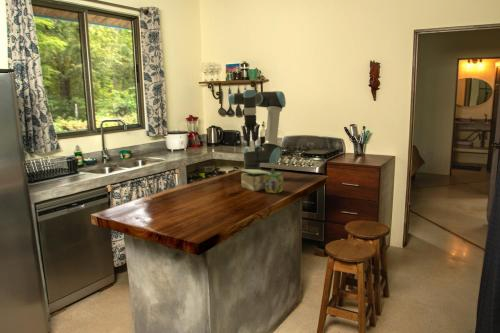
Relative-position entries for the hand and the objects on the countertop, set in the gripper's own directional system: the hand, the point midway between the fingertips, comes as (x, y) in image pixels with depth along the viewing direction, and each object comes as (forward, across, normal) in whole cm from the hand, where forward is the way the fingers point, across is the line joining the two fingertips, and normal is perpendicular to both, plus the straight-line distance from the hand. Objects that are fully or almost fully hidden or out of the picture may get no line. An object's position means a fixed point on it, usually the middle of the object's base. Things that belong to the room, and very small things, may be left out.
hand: (251, 151), depth 252 cm
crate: (+24, -3, 0) cm, 25 cm away
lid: (+14, -3, 0) cm, 15 cm away
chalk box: (+25, -6, +16) cm, 30 cm away
